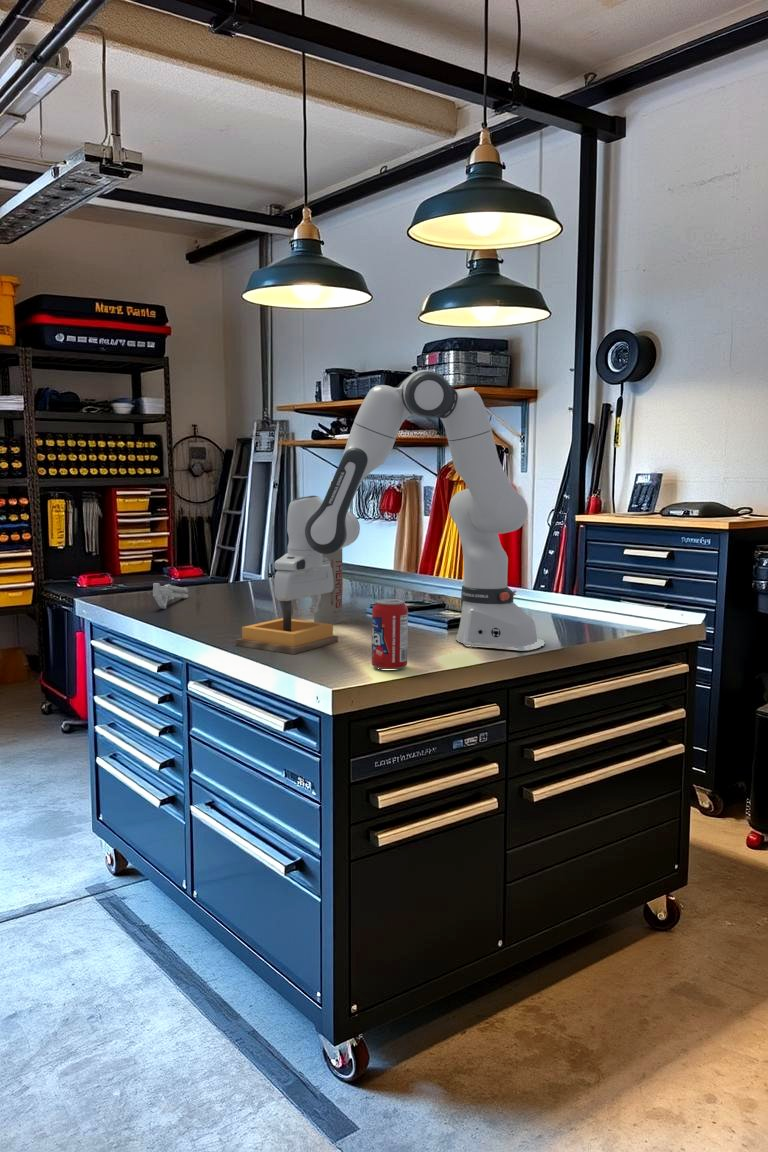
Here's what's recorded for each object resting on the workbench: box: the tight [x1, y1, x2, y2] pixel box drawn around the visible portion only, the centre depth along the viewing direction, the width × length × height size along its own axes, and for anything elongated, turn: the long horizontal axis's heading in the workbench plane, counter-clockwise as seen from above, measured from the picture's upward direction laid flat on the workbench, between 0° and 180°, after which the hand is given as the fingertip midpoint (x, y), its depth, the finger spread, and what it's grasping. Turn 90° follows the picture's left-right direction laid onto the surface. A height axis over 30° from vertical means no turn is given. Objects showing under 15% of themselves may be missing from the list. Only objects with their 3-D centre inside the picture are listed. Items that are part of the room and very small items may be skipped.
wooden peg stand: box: [235, 600, 339, 655], centre depth 220 cm, size 18×18×16 cm
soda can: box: [371, 598, 409, 670], centre depth 194 cm, size 8×8×15 cm
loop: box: [241, 617, 334, 647], centre depth 220 cm, size 16×16×3 cm
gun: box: [152, 582, 189, 610], centre depth 279 cm, size 2×30×8 cm, turn 175°
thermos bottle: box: [313, 548, 343, 625], centre depth 250 cm, size 8×8×28 cm
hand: (305, 614), depth 226 cm, fingers open, 5 cm apart
